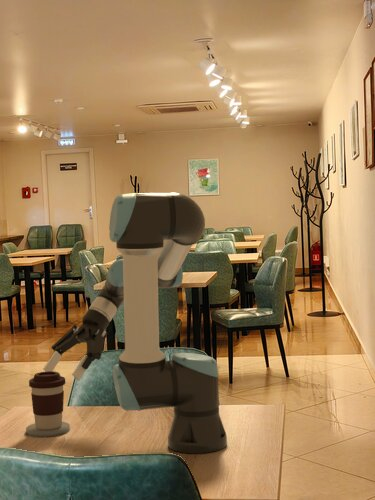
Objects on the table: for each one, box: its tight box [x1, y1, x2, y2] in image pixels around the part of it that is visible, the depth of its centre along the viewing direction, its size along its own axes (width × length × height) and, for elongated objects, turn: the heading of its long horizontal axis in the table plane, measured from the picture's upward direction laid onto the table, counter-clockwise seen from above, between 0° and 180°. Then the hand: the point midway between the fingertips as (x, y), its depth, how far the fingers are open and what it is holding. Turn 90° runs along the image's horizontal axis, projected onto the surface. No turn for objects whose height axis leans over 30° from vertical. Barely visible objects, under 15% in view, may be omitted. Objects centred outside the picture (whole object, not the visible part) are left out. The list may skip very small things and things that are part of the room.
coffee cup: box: [28, 370, 66, 430], centre depth 204 cm, size 10×10×15 cm
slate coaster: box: [25, 421, 71, 439], centre depth 204 cm, size 12×12×1 cm
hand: (60, 374), depth 208 cm, fingers open, 13 cm apart
